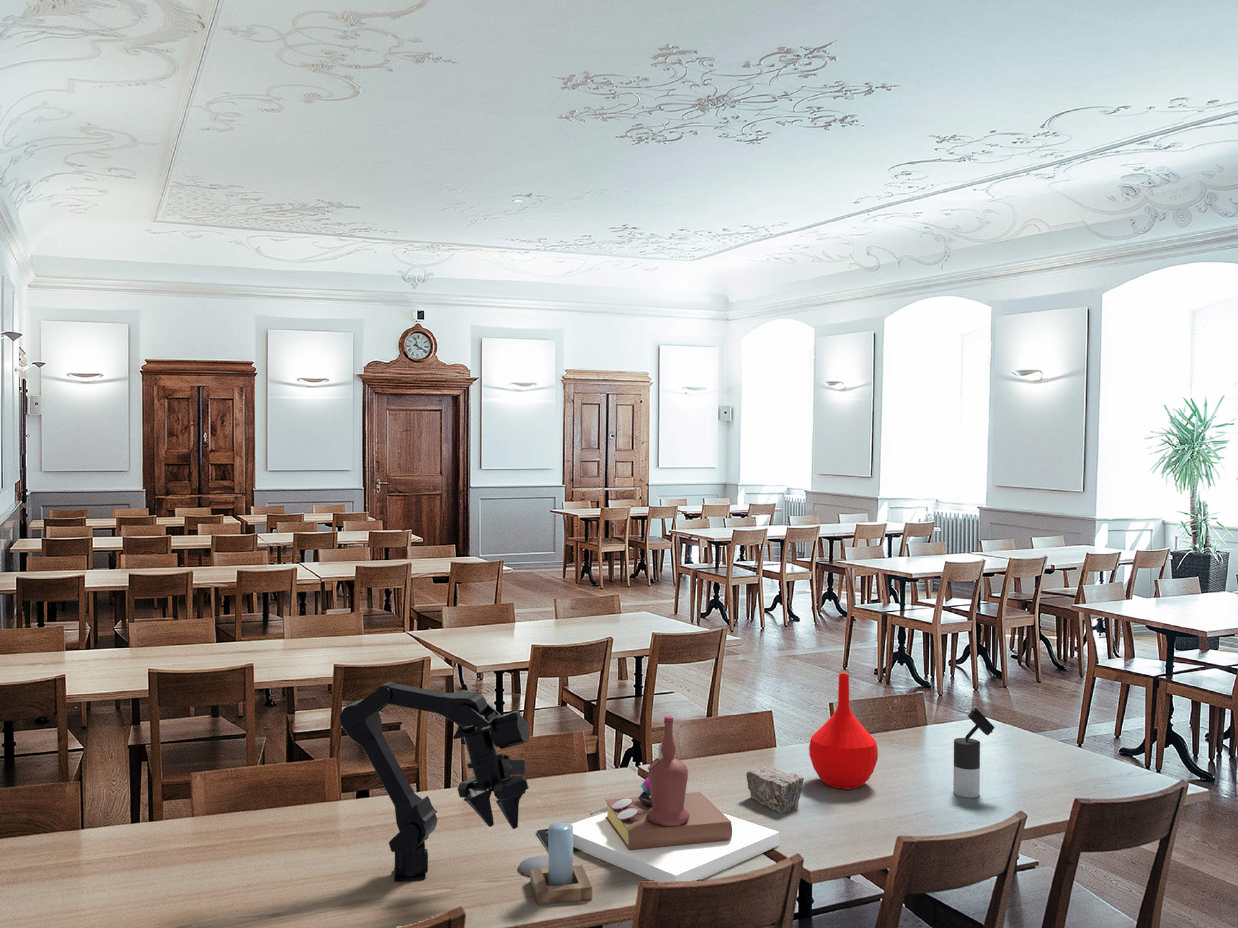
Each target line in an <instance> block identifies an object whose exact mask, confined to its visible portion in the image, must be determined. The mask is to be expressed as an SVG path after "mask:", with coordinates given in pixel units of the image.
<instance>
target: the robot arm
mask: <svg viewBox="0 0 1238 928" xmlns="http://www.w3.org/2000/svg"><path fill="white" fill-rule="evenodd" d="M388 705H392V706H399V707H403V708H408V709H413V710H419V711H424V712H429V713H432V714H433V713H434V714H438V715H441V716H442V717H444V718H445V719H447V720H448V721H450V722H452V723H456V724H458V727H457V730H456V731H455V733H454V734H453V736H452V737H453V739H454V740H457V739H461V738H463V739H464V744H465V748H466V751H467V755H468V758H469V760H470V762H467V763H466V766H467V769H472V772H473V776H472V777H470V778H468V779H466V780H463V781H461V782H460V783H459V785H458V786H457V792H458V794H459V795H458V796H459V798H463V801H464V802H466V803H467V804H468V805H469V806H470V807H471V808H472V809H473V811H475V813H476V814H477V815H478V816H479V817H480V818H481V819H482V820H483V821H482V822H484V823H485V824H486V825H487V827H489V828H492V827H493V826H494V825H495V822H494V815H493V811H492V810H493V809H492V805H491V797H492V793H493V795H494V797H495V798H496V799H497V800H495V802H496V804H497V806H498V808H499V809H500V811H501V812H502V814H503V816H504V817H505V819H506V821H507V822H508V824H509V825H510V827H511V828H512V830H515V829H517V828H519V809H520V808H519V806H520V801H521V800H520V799H521V798H522V796H523V795H525V794H526V793H527V791H526V790H529V789H530V786H529V783H528V779H527V778H526V777H524V775H526V765H527V763H526V761H527V760H526V758H525V759H524V758H523V759H519V758H518V759H516V758H515V759H511V758H510V757H509V755H508V754H503V753H498V751H497V748H499V749H501V750H504V749H507V748H512V747H515V746H520V745H524V744H528V743H529V741H530V729H529V724H528V722H527V721H526V719H525V717H523V716H522V715H521V712H520V710H519V709H517V710H513V711H511V712H509V713H505V714H503V715H502V714H501V713H500V712H499V711H497V709H495V708H494V707H493V706H491V704H490V703H488V702H487V700H486V698H485V697H484V695H483V693H481V692H477V691H457V692H443V691H442V692H441V691H437V690H436V691H435V690H431V689H426V688H421V687H416V686H412V685H411V686H410V685H406V684H399V683H397V682H394V681H388V682H386V683H383V684H382V685H380V686H379V687H378V688H377V689H376V690H375V691H373V692H372V693H371V694H369V695H367V697H365V698H362V699H359V700H356V701H355V702H353V703H350V704H349V705H347V706H345V707H344V708H343V709H342V711H341V712H340V715H339V718H338V719H339V723H340V726H341V728H342V730H344V732H345V733H346V734H347V736H348V737H349V739H351V740H352V741H354V742H356V744H358V745H359V746H361V747H362V749H363V750H364V752H365V754H366V756H367V758H368V760H369V762H370V763H371V765H372V767H373V769H374V771H375V773H376V774H377V776H378V778H379V780H380V783H382V786H383V787H384V789H385V791H386V794H387V795H388V797H389V798H390V801H391V802H392V804H393V807H394V812H395V813H394V815H395V822H396V823H395V824H396V826H397V829H398V832H397V834H396V835H395V836H393V837H392V839H390V841H388V845H389V848H390V851H391V853H394V867H393V881H394V882H401V881H402V882H403V881H414V880H425V879H426V878H427V877H426V876H427V873H428V872H429V851H428V849H427V848H426V842H425V841H427V840H428V839H429V836H430V834H431V833H433V832H434V831H435V829H436V828H437V824H438V816H437V813H438V810H437V809H435V807H434V806H433V804H432V801H431V799H430V797H429V796H428V795H426V796H425V797H424V798H422V797H420V796H419V795H418V794H416V793H415V792H414V790H413V788H412V786H411V784H410V783H409V780H408V778H407V777H406V775H405V773H404V771H403V770H402V767H401V766H400V764H399V762H398V760H397V758H396V757H395V755H394V753H393V752H392V749H391V748H390V746H389V744H388V742H387V740H386V738H385V736H384V733H383V723H382V718H381V714H380V712H381V711H382V710H383V709H384V708H385V709H386V707H387V706H388Z"/></svg>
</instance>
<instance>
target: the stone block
mask: <svg viewBox="0 0 1238 928" xmlns="http://www.w3.org/2000/svg"><path fill="white" fill-rule="evenodd" d="M804 780H805V777H804V776H803V775H801V774H797V773H787V772H785V771H782V770H778V769H776V768H772V767H769V766H765V765H762V766H760V767H759V766H758V767H755V768H752V769H749V770H747V771H746V782H747V788H748V790H749V794H750V797H752V798H751V799H753V800H755V801H756V802H757V803H758V804H761V805H762V806H766V807H768V808H769V809H770V808H771V810H773V811H775V812H778V813H779V814H785V813H787V812H789V810H790V811H792V810H794V809H797V808H799V800H800V799H801V795H802V791H803V786H804Z"/></svg>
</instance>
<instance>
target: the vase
mask: <svg viewBox="0 0 1238 928" xmlns="http://www.w3.org/2000/svg"><path fill="white" fill-rule="evenodd" d="M837 693H838V695H837V700H838V701H837V707H836V708H835V711H834V713H833V714H832V715H831V716H830V717H829V718H828V719H827V721H825V723H824V724H823V725H821V727H820V728H819V729H817V730H816V731H815V732H814V733H813V734H812V735H811V737H810V742H809V746H808V751H809V753H808V755H809V758H810V761H811V763H812V767H813V770H814V772H815V773H816V774H817V776H818V778H819V779H820V780H821V781H822V782H823V783H824V784H825V785H827V786H829V787H831V788H834V787H835V789H840V788H841V790H854V789H858V788H860V787H862V786H863V785H864V784H866V782H868V781H869V779H870V777H871V776H872V774H873V773H874V770H875V767H876V765H877V762H878V759H879V758H878V757H879V756H878V754H879V751H878V750H879V748H878V745H877V741H876V739H875V738H874V737H873V736H872V735H871V734H870V733H869V732H868V731H867V730H866V728H865V727H864V726H863V725H862V723H861V722H860V720H858V719H857V718H856V716H855V715H854V714H853V712H852V710H851V707H850V706H851V705H850V674H849V673H846V672H840V673H838V690H837Z"/></svg>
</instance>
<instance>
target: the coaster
mask: <svg viewBox="0 0 1238 928" xmlns="http://www.w3.org/2000/svg"><path fill="white" fill-rule="evenodd" d="M518 867H519V868H518V869H519V872H520V873H522V874H523V875H525V876H527V877H530V870H532V869H545V868H548V855H539V856H538V855H537V856H531V857H528V858H526V859H524V860H522V861H520V862H519V866H518Z"/></svg>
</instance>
